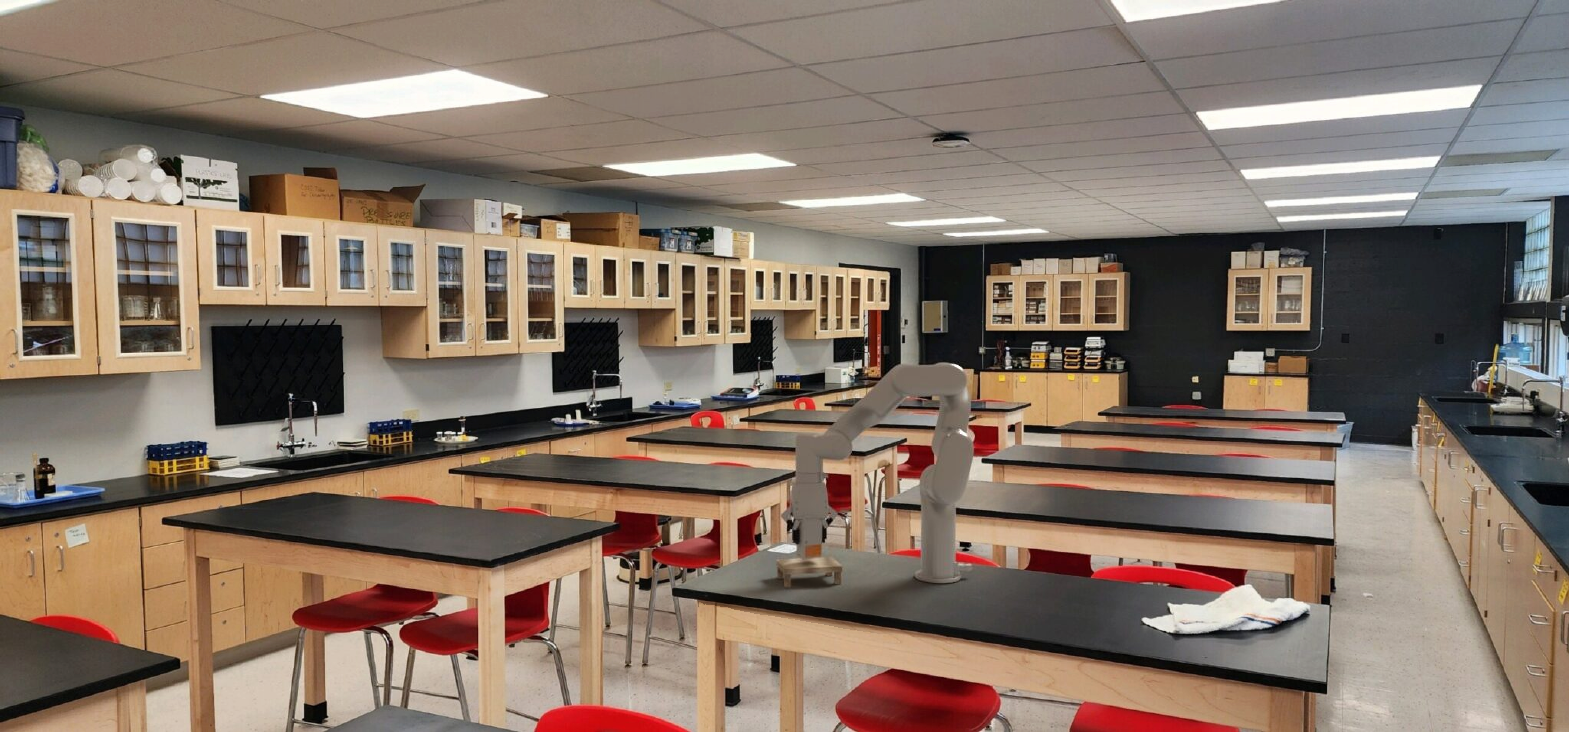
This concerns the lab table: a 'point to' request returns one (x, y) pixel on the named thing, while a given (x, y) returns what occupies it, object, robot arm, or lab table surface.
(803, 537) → the skincare box
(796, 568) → the birch stool
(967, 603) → the lab table surface
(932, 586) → the lab table surface
